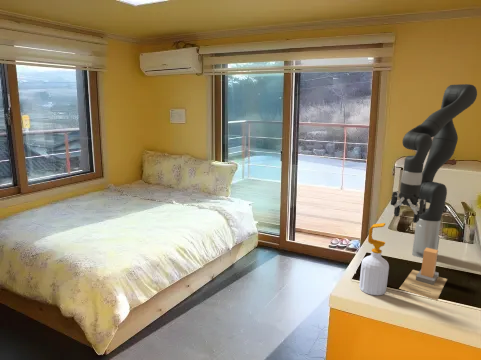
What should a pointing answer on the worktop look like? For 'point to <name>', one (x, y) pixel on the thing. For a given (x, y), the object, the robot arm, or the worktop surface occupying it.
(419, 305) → the worktop surface
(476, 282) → the worktop surface
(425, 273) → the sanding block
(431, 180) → the robot arm
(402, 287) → the oak board
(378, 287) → the soap bottle
